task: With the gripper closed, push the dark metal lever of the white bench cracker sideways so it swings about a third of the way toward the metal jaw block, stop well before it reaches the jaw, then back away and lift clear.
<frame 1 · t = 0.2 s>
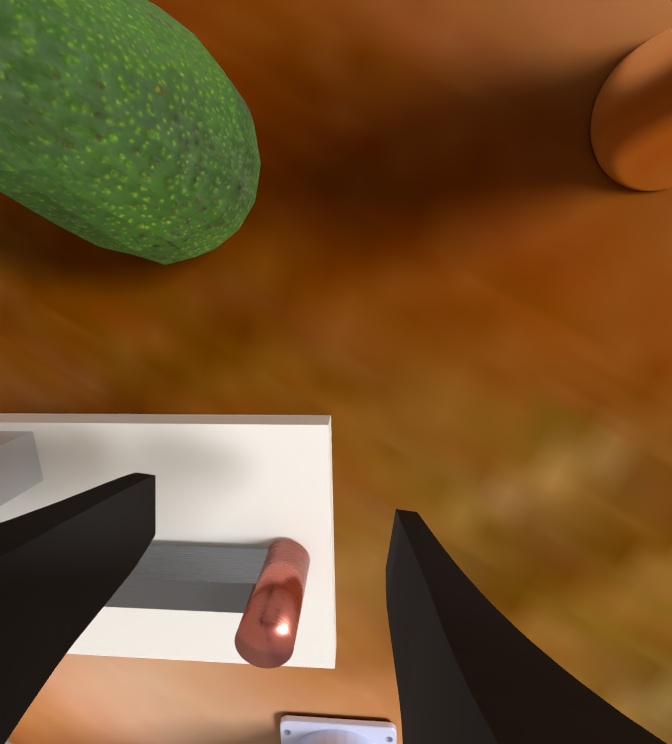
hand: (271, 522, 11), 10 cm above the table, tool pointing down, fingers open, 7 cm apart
beer glass: (657, 119, 16), on the table
avocado: (207, 187, 18), on the table
lever: (105, 589, 19), point 4 cm above the table, hinge at 0.0°
cracker base: (160, 534, 23), on the table
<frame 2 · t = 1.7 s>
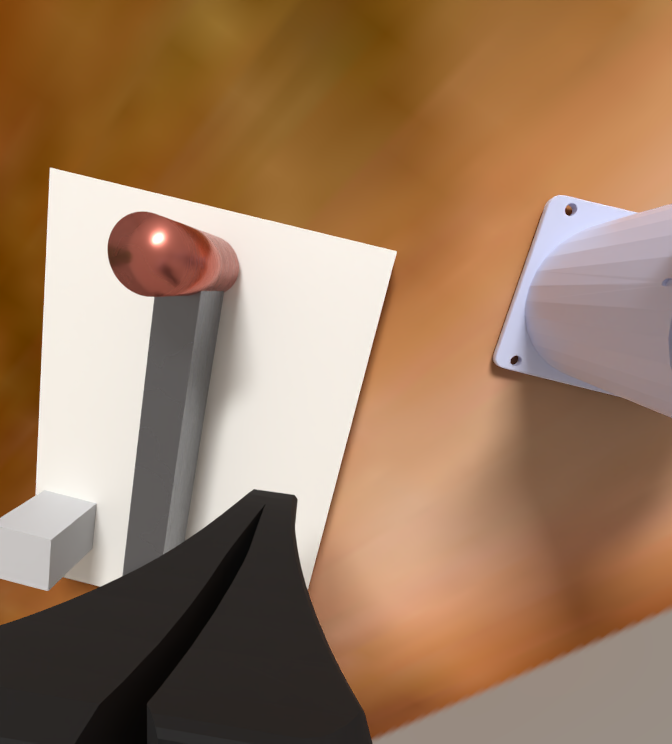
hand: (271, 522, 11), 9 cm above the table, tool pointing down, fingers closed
lever: (157, 467, 16), point 4 cm above the table, hinge at 0.0°
cracker base: (201, 422, 20), on the table
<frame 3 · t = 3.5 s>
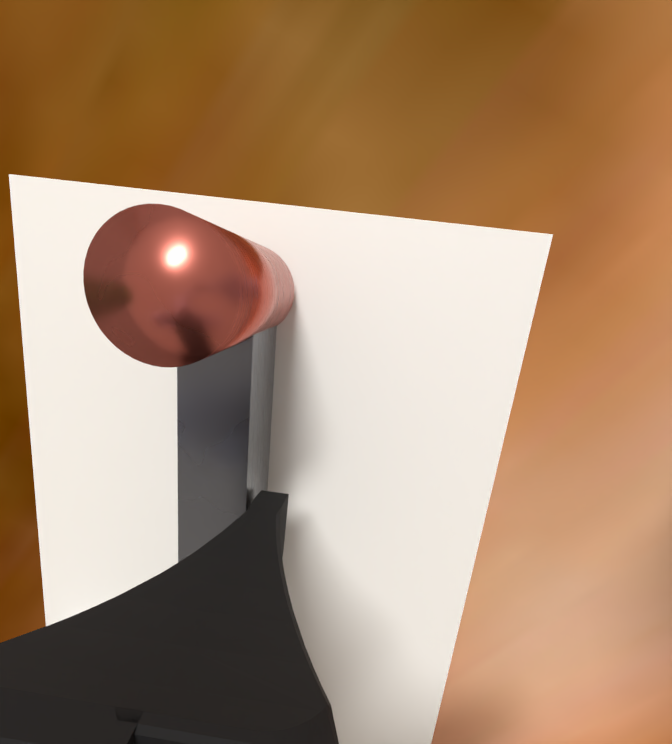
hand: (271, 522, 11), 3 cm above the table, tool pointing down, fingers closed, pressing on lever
lever: (212, 610, 10), point 4 cm above the table, hinge at 1.3°, touching gripper
cracker base: (260, 507, 14), on the table
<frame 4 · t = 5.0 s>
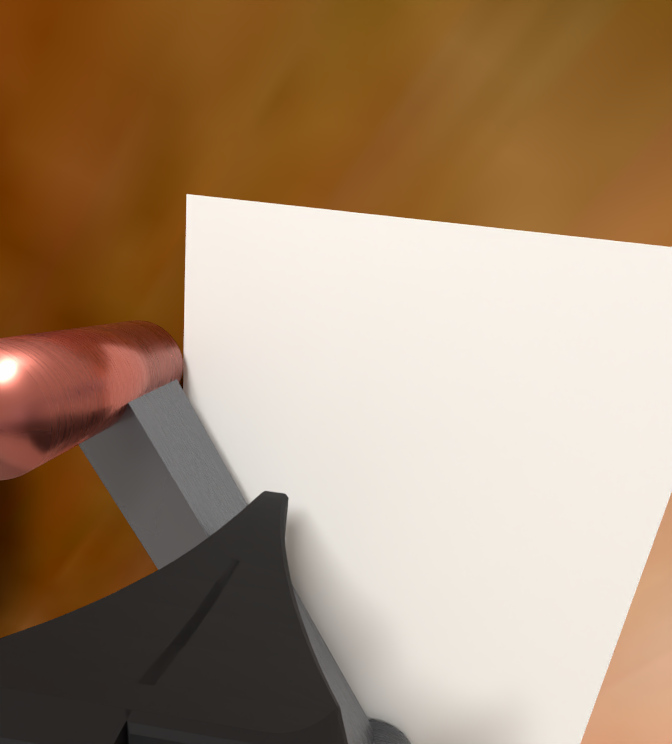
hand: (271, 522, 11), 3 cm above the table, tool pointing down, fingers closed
lever: (251, 654, 11), point 4 cm above the table, hinge at 31.6°, touching gripper
cracker base: (398, 529, 14), on the table
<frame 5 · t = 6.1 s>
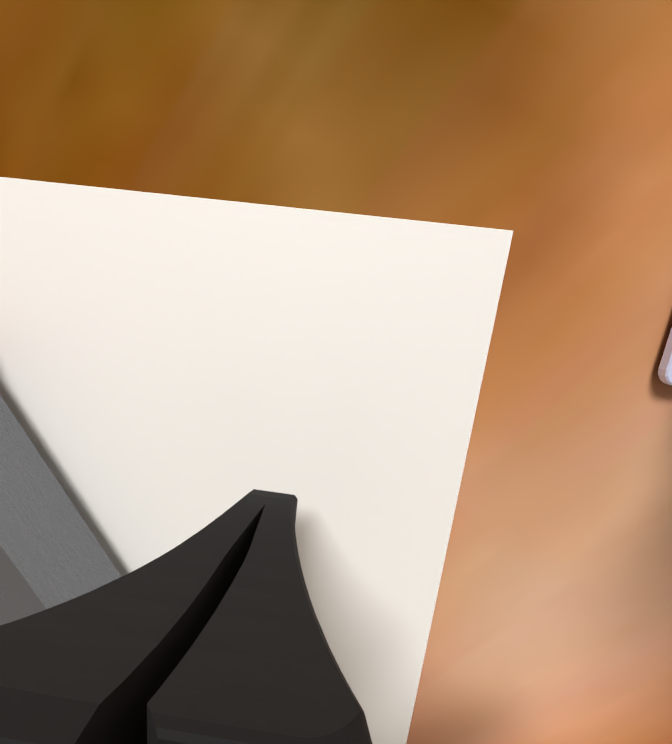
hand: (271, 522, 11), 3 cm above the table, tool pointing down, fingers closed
lever: (36, 622, 11), point 4 cm above the table, hinge at 31.7°
cracker base: (234, 506, 14), on the table
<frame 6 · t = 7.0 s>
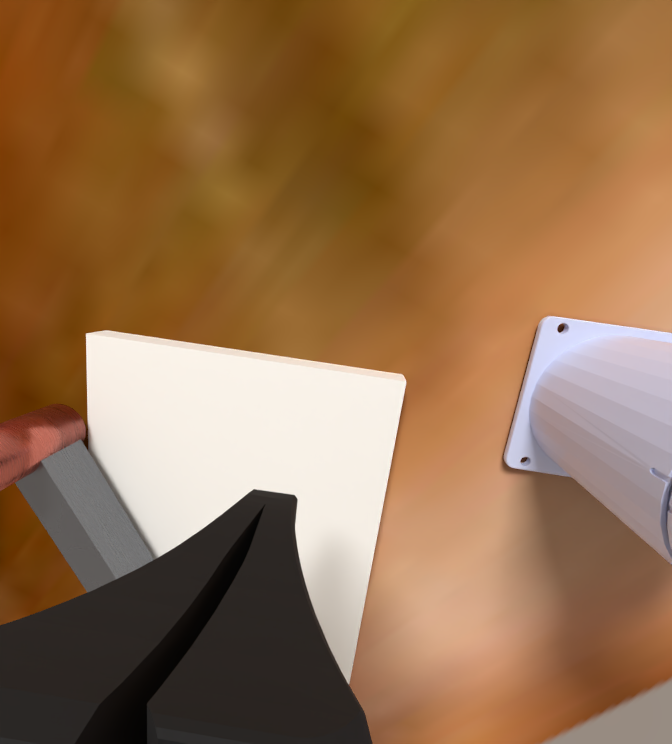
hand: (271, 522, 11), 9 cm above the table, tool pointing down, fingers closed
lever: (118, 603, 18), point 4 cm above the table, hinge at 31.7°
cracker base: (237, 531, 22), on the table
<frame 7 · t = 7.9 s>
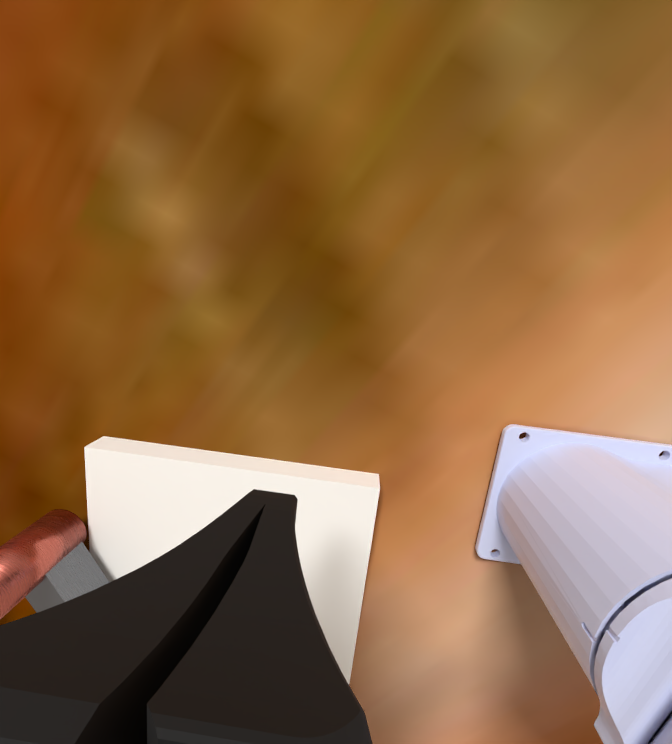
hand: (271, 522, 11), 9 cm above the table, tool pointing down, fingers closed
lever: (119, 695, 19), point 4 cm above the table, hinge at 31.7°
cracker base: (230, 612, 23), on the table
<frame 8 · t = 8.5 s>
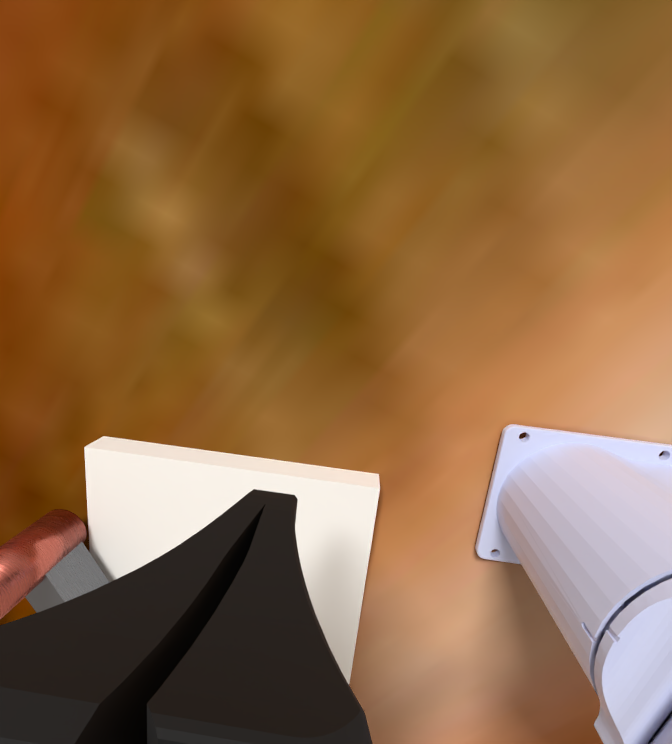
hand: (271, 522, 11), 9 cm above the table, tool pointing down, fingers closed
lever: (119, 695, 19), point 4 cm above the table, hinge at 31.7°
cracker base: (230, 612, 23), on the table
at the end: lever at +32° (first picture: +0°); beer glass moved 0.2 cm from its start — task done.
